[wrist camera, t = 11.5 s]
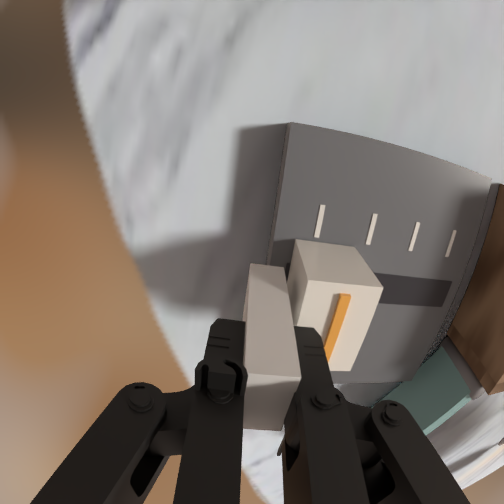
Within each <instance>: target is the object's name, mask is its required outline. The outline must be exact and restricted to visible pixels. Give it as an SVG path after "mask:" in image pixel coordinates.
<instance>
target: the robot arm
mask: <svg viewBox="0 0 504 504" xmlns="http://www.w3.org/2000/svg"><path fill="white" fill-rule="evenodd" d="M283 425H284V428H285V435H284V438H283V440H282V442H281V444H280V447H279V449H278V452H277V456H280V455H281V453H282V466H283V490H284V504H470V502H469V501H468V499H467V498H466V496H465V495H464V493H463V491H462V490H461V488H460V487H459V485H458V483H457V482H456V480H455V479H454V477H453V476H452V474H451V473H450V471H449V470H448V468H447V467H446V465H445V464H444V462H443V461H442V459H441V458H440V456H439V455H438V453H437V452H436V450H435V449H434V447H433V446H432V444H431V443H430V441H429V440H428V438H427V437H426V435H425V434H424V432H423V431H422V429H421V428H420V426H419V425H418V424H417V422H416V421H415V419H414V418H413V416H412V415H411V413H410V412H409V411H408V410H407V409H406V407H405V406H404V405H402V404H400V403H398V402H397V401H392V400H382V401H380V402H378V403H376V404H375V406H374V407H373V408H368V407H364V406H360V405H355V404H353V403H350V402H348V401H346V400H345V398H344V396H343V394H342V393H341V392H340V391H339V390H338V389H336V388H334V385H333V381H332V377H331V373H330V369H329V365H328V361H327V357H326V353H325V349H324V345H323V341H322V338H321V336H320V335H319V333H318V332H317V331H316V330H315V329H314V328H312V327H300V326H294V325H293V319H292V313H291V307H290V301H289V295H288V289H287V283H286V277H285V271H284V267H277V266H269V265H261V264H253V263H250V269H249V276H248V283H247V290H246V297H245V303H244V310H243V321H235V320H228V319H220V318H218V319H217V320H216V321H215V322H214V323H213V324H212V325H211V327H210V332H209V337H208V341H207V346H206V350H205V355H204V359H203V360H202V361H200V362H199V363H198V365H197V367H196V368H195V385H194V386H192V387H191V388H189V389H187V390H184V391H180V392H173V393H162V392H161V390H160V389H159V388H157V387H156V386H154V385H152V384H148V383H144V382H141V383H132V384H129V385H126V386H125V387H124V388H123V389H121V390H120V391H119V392H118V393H117V395H116V396H115V397H114V398H113V400H112V401H111V402H110V403H109V405H108V406H107V407H106V408H105V410H104V411H103V412H102V413H101V414H100V416H99V417H98V418H97V420H96V421H95V422H94V423H93V424H92V426H91V427H90V428H89V429H88V431H87V432H86V433H85V434H84V436H83V437H82V438H81V439H80V441H79V442H78V443H77V444H76V446H75V447H74V448H73V450H72V451H71V452H70V453H69V454H68V456H67V457H66V458H65V460H64V461H63V462H62V463H61V465H60V466H59V467H58V469H57V470H56V471H55V472H54V474H53V475H52V476H51V478H50V479H49V480H48V481H47V482H46V484H45V485H44V486H43V488H42V489H41V490H40V491H39V493H38V494H37V495H36V497H35V498H34V499H33V500H32V502H31V503H30V504H143V503H144V501H145V499H146V497H147V496H148V494H149V492H150V490H151V489H152V487H153V485H154V483H155V482H156V480H157V478H158V476H159V475H160V473H161V471H162V469H163V467H164V466H165V464H166V462H167V460H168V459H169V457H170V456H171V455H182V457H181V463H180V467H179V473H178V478H177V484H176V490H175V495H174V501H173V504H240V482H241V459H242V437H243V428H244V429H256V430H272V431H281V430H282V427H283Z"/></svg>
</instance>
